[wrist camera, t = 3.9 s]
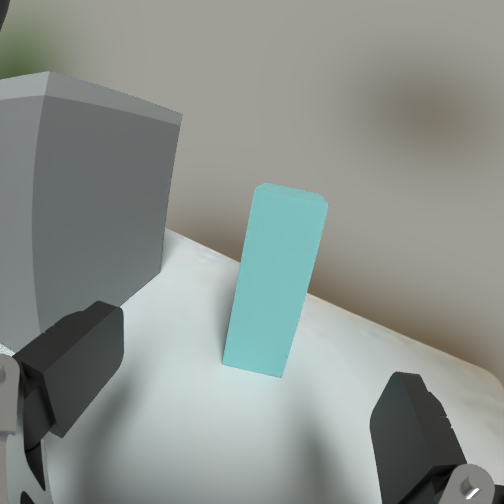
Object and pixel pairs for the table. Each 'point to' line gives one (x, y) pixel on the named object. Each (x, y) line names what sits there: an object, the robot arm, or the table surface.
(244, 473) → the table surface
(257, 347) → the teal rectangular block
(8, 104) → the slot box
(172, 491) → the table surface
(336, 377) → the table surface
